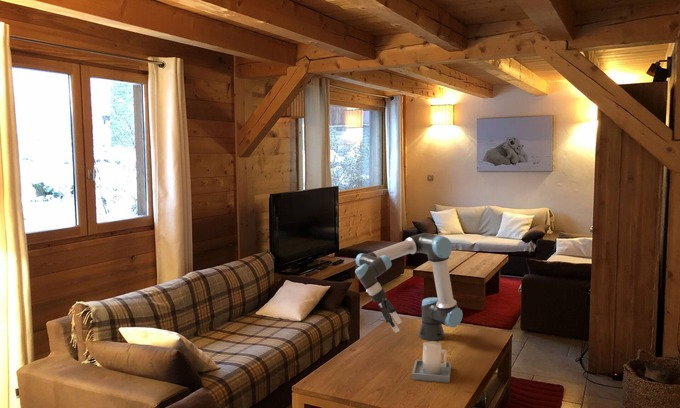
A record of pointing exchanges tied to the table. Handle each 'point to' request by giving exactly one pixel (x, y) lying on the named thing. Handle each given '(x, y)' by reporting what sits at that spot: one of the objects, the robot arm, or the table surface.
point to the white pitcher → (433, 358)
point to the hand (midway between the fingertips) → (398, 327)
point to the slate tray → (419, 374)
